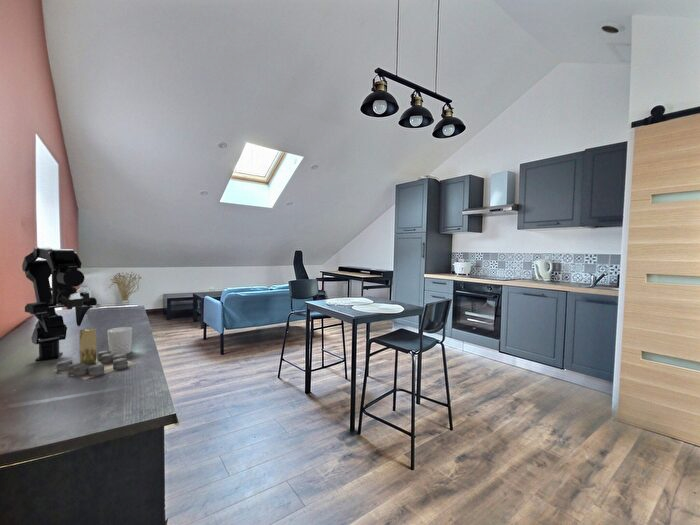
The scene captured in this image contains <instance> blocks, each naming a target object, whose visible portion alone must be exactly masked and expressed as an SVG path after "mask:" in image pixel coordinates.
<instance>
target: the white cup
mask: <svg viewBox="0 0 700 525" xmlns="http://www.w3.org/2000/svg"><path fill="white" fill-rule="evenodd" d="M132 340H133V327H132V326H131V327H130V326H120V327H115V328H110V329H108V330H107V344H108V351H111V353H113V354H115V355H119V354H127V355H128V354H129V353H131V352H132V344H133V343H132Z"/></svg>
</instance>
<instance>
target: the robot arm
mask: <svg viewBox="0 0 700 525" xmlns="http://www.w3.org/2000/svg"><path fill="white" fill-rule="evenodd" d="M23 258H24V259H23V261H22V265H21V267H22V268H21V269H22V271H23V272H24V274H25V277H26V279H27V280H30V281H31V282H32V284H33V289H34V294H35V301H36V302H30V303H26V304H25V306H24V313H28V314H30V315H33V316H34V317H35V318H36V319H37V322H36V323H35V325H34V327H35V328H34V330H33V332H32V335H31V343H32V344H34V345H38V356H37V357H36V358H35V361H36V362H37V361H43V360H44V361H45V360H53V359H59V358H60V357H61V356H62V355H63V352H60V341H63V340H66V339H67V338H66V337H67V330H68V327H67V325H66V323H65V322H64V316H62V315H60V314H59V315H58V313H56V309H59V308H67V309H73V308H75V322H76V326H77V327H81V324H82V323H83V320H84V318H85V315H86V313H87V312H88V311H89V310H90V309H93V308H94V306H97V305H98V301H97V298H96V297H93V296H90V292H89V291H81V292H77V288H76V287H79V286H80V285H82V284H83V283H84V281H85V277H86V276H85V274H84V273H83V272H82V271H81V270H80V269H81V268H82V261H81V259H80V257H79V255H78V253H77V252H76V251H75V250H74V249H73V248H72V249H71V248H64V249H63V248H53V247H49V246H47V247H46V246H45V247H44V246H43V247H41V246H40V247H34V248H33V251H32V252H31V253H28V255H26V256H24V257H23ZM78 269H79V270H78ZM50 277H51V282H50Z"/></svg>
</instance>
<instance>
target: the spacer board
mask: <svg viewBox="0 0 700 525" xmlns="http://www.w3.org/2000/svg"><path fill="white" fill-rule="evenodd" d="M127 355H128V353H127V354H119V355H115V354H113V353H111V351H109V350H102V351H101V350H100V351H98V352H96V364H94V365H91V366H90V365H88V364H86V365H84V363H80V362H78V363H77V362H76V363H73V360H70V359H67V360H62V361H58V362H56V363H55V364H56V369H53V370H52V371H53V372H57V373H60V374H63V375H67V376H71V377H75V378H78V379H81V380H88V379H91V378H95V377H99V376H102V375H104V374H107V373H110V372H113V371H117V370H123V369H126V368H128V367H130V366H133V365H137V364H138V363H137V362H133V361H129V360H128V356H127Z"/></svg>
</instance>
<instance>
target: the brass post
mask: <svg viewBox="0 0 700 525" xmlns="http://www.w3.org/2000/svg"><path fill="white" fill-rule="evenodd" d="M96 330H97V329H96V328H94V327H93V328H92V327H91V328H83V329H80V330H79V363H84V365H86V364H88V365H90V366H91V365H94V364H96V359H97V333H96V332H97V331H96Z"/></svg>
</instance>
